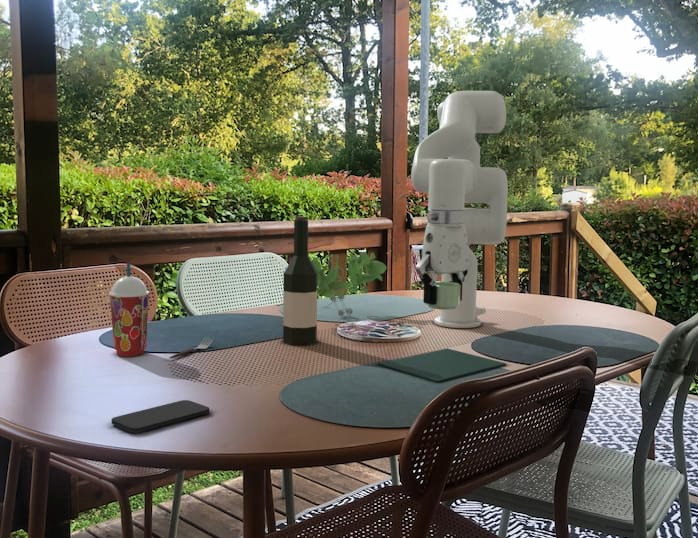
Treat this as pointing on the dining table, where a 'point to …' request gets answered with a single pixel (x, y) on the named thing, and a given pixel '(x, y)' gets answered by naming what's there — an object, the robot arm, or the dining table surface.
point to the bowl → (447, 296)
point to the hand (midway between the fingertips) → (442, 301)
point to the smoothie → (129, 315)
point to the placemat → (442, 365)
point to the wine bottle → (300, 291)
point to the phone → (159, 416)
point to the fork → (194, 348)
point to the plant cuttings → (353, 268)
